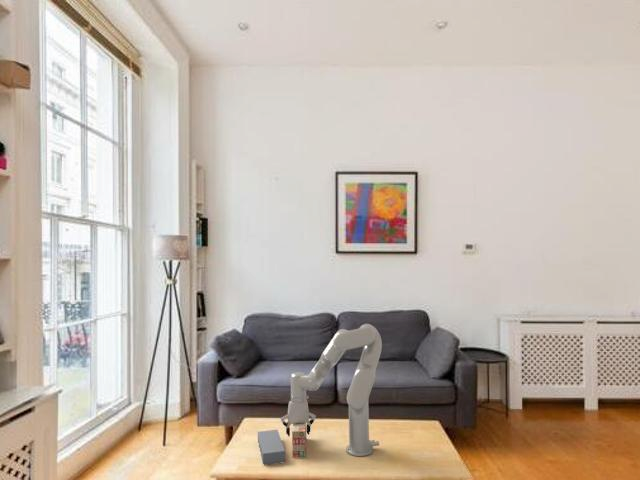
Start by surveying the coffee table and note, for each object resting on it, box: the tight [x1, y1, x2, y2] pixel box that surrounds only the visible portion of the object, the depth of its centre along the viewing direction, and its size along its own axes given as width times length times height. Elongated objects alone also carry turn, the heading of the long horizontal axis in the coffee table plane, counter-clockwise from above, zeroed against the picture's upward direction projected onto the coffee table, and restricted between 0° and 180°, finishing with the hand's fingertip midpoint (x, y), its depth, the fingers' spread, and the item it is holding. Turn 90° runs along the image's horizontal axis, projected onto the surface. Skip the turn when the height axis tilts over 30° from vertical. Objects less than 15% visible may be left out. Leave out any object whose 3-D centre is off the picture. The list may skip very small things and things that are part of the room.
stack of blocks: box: [291, 423, 307, 458], centre depth 210 cm, size 21×6×12 cm, turn 1°
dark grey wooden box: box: [257, 429, 286, 466], centre depth 206 cm, size 10×26×5 cm, turn 13°
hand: (298, 434), depth 209 cm, fingers open, 9 cm apart
